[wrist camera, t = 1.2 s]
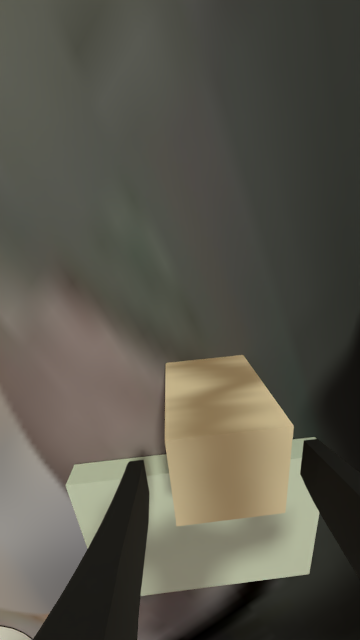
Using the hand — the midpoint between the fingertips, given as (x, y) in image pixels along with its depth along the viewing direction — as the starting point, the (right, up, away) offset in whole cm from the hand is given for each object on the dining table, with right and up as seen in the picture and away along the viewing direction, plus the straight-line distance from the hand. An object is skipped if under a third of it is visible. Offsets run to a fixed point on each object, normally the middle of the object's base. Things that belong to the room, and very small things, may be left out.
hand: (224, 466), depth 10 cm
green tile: (0, -10, +9) cm, 13 cm away
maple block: (0, +2, +5) cm, 5 cm away
